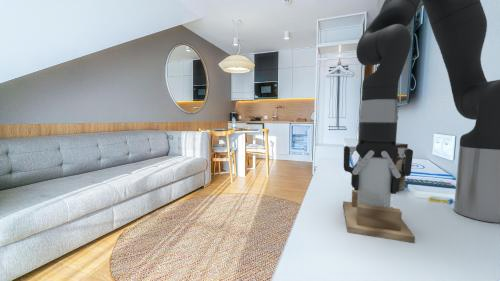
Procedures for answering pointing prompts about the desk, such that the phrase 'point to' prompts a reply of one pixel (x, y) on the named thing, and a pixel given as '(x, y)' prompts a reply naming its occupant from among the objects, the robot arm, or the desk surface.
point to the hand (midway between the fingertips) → (373, 191)
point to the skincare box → (375, 183)
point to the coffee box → (399, 164)
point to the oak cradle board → (374, 231)
